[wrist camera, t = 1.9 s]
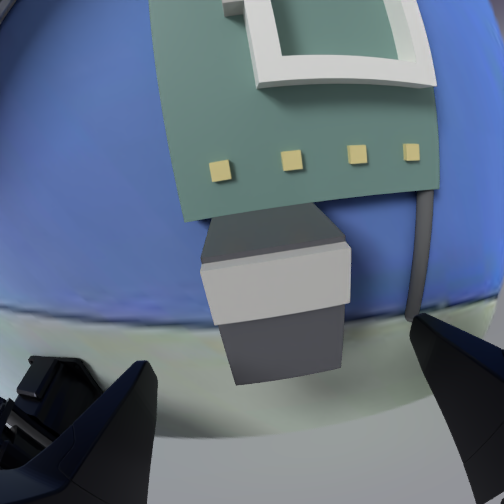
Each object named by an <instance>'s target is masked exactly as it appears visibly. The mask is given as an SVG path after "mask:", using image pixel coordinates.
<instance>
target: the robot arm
mask: <svg viewBox="0 0 504 504" xmlns="http://www.w3.org/2000/svg"><path fill="white" fill-rule="evenodd" d="M410 341H411V343H412V346H413V348H414V351H415V353H416V356H417V358H418V361H419V363H420V366H421V369H422V371H423V374H424V376H425V378H426V380H427V382H428V384H429V386H430V388H431V390H432V392H433V394H434V396H435V398H436V401H437V403H438V405H439V407H440V409H441V411H442V414H443V416H444V418H445V420H446V422H447V425H448V427H449V429H450V432H451V434H452V436H453V439H454V441H455V444H456V446H457V449H458V451H459V454H460V456H461V459H462V462H463V464H464V468H465V470H466V473H467V476H468V479H469V482H470V485H471V488H472V491H473V494H474V498H475V501H476V504H484V503H486V502H488V501H489V500H491V499H493V498H494V497H496V496H497V495H499V494H501V493H502V492H504V350H503V349H501V348H499V347H497V346H495V345H493V344H491V343H489V342H486V341H484V340H482V339H480V338H478V337H476V336H474V335H471V334H469V333H467V332H465V331H463V330H461V329H459V328H456V327H454V326H452V325H450V324H448V323H446V322H443V321H441V320H439V319H437V318H435V317H432V316H430V315H428V314H426V313H422V314H418V315H415V316H414V318H413V321H412V325H411V330H410ZM28 361H29V363H30V364H31V366H30V368H29V369H28V371H27V373H26V374H25V376H24V377H23V379H22V381H21V382H20V384H19V386H18V387H17V393H18V394H19V395H18V397H17V398H16V400H15V402H14V401H13V400H11V399H10V398H9V399H7V400H5V399H3V398H1V397H0V504H147V495H148V483H149V473H150V464H151V457H152V448H153V441H154V434H155V427H156V416H157V389H158V380H157V376H156V374H155V373H154V371H153V369H152V367H151V365H150V363H149V362H148V361H146V360H144V361H136V362H134V363H133V364H132V365H131V366H130V367H129V368H128V369H127V370H126V371H125V372H124V373H123V374H122V375H121V376H120V377H119V378H118V379H117V380H116V381H115V382H114V383H113V384H112V385H111V386H110V387H109V388H108V389H107V390H106V391H105V392H104V393H103V392H102V391H101V390H100V388H99V387H98V385H97V384H96V383H95V381H94V380H93V378H92V377H91V375H90V374H89V372H88V371H87V369H86V368H85V366H84V365H83V363H82V362H81V361H80V360H79V359H76V358H57V357H41V356H30V358H29V359H28ZM6 422H7V423H8V424H9V425H11V426H12V427H11V428H10V429H9V428H8V427H7V426H6V425H5V424H6ZM501 504H504V498H503V499H502V501H501Z"/></svg>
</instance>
